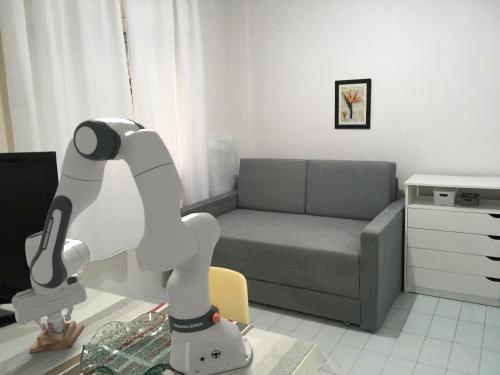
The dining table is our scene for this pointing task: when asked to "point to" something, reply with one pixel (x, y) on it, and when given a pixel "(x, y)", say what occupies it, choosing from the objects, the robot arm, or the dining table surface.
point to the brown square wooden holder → (58, 338)
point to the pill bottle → (56, 323)
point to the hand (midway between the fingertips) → (56, 324)
